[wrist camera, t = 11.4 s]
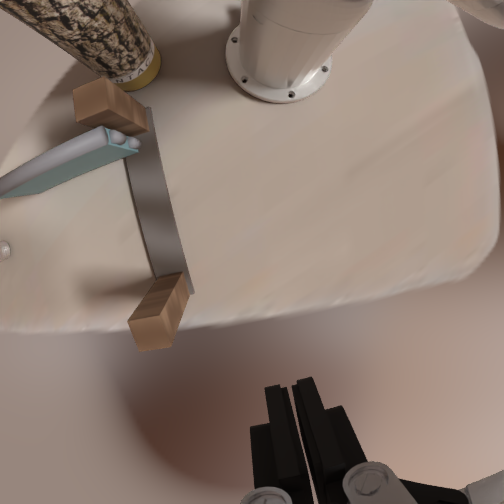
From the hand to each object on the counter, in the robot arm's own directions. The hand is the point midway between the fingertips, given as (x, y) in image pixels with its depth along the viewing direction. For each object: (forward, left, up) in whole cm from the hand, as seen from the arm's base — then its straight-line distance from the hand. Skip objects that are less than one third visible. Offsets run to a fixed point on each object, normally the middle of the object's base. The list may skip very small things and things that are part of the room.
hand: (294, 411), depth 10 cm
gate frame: (-8, -10, -27) cm, 30 cm away
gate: (-14, -17, -26) cm, 34 cm away
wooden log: (-25, -9, -27) cm, 38 cm away
